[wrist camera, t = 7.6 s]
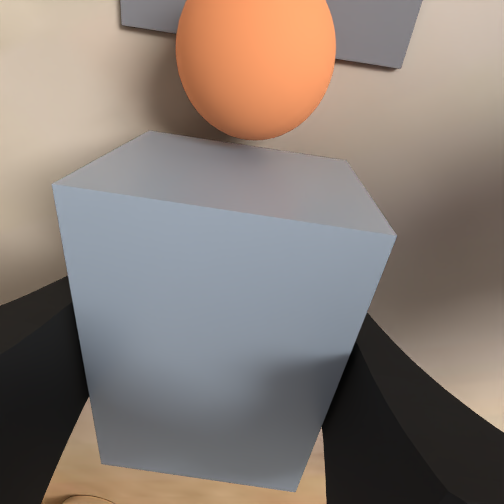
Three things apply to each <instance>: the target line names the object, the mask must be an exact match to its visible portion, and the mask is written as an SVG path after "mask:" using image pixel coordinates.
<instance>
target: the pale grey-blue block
mask: <svg viewBox="0 0 504 504" xmlns="http://www.w3.org/2000/svg"><path fill="white" fill-rule="evenodd" d="M52 188H53V194H54V200H55V205H56V211H57V216H58V222H59V228H60V233H61V239H62V245H63V250H64V256H65V261H66V267H67V273H68V278H69V284H70V290H71V295H72V301H73V307H74V312H75V318H76V323H77V329H78V335H79V340H80V346H81V352H82V357H83V363H84V369H85V374H86V380H87V385H88V391H89V397H90V402H91V408H92V414H93V419H94V425H95V430H96V436H97V442H98V447H99V453H100V459H101V464H105V465H111V466H118V467H125V468H132V469H139V470H146V471H153V472H160V473H166V474H173V475H180V476H187V477H194V478H201V479H208V480H215V481H222V482H228V483H235V484H242V485H249V486H256V487H263V488H270V489H277V490H283V491H290V492H296V490H297V487H298V484H299V482H300V479H301V477H302V474H303V472H304V469H305V467H306V464H307V462H308V459H309V457H310V454H311V452H312V449H313V447H314V444H315V442H316V439H317V437H318V434H319V432H320V429H321V427H322V424H323V422H324V419H325V416H326V414H327V411H328V409H329V406H330V404H331V401H332V399H333V396H334V394H335V391H336V389H337V386H338V384H339V381H340V379H341V376H342V374H343V371H344V369H345V366H346V364H347V361H348V359H349V356H350V353H351V351H352V348H353V346H354V343H355V341H356V338H357V336H358V333H359V331H360V328H361V326H362V323H363V321H364V318H365V316H366V313H367V311H368V308H369V306H370V303H371V301H372V298H373V296H374V293H375V290H376V288H377V285H378V283H379V280H380V278H381V275H382V273H383V270H384V268H385V265H386V263H387V260H388V258H389V255H390V253H391V250H392V248H393V245H394V243H395V240H396V238H397V235H396V233H395V232H394V230H393V229H392V227H391V226H390V224H389V223H388V221H387V220H386V218H385V217H384V215H383V214H382V212H381V211H380V209H379V208H378V206H377V205H376V203H375V202H374V200H373V199H372V198H371V196H370V195H369V193H368V192H367V190H366V189H365V187H364V186H363V184H362V183H361V181H360V180H359V178H358V177H357V175H356V174H355V172H354V171H353V169H352V168H351V166H350V165H349V163H348V162H347V160H341V159H334V158H327V157H321V156H314V155H308V154H301V153H294V152H288V151H281V150H275V149H268V148H261V147H255V146H248V145H242V144H235V143H228V142H222V141H215V140H209V139H202V138H195V137H189V136H182V135H176V134H169V133H162V132H156V131H147V132H146V133H144V134H142V135H140V136H138V137H136V138H135V139H133V140H131V141H129V142H127V143H125V144H124V145H122V146H120V147H118V148H116V149H114V150H113V151H111V152H109V153H107V154H105V155H104V156H102V157H100V158H98V159H96V160H94V161H93V162H91V163H89V164H87V165H85V166H83V167H82V168H80V169H78V170H76V171H74V172H72V173H71V174H69V175H67V176H65V177H63V178H62V179H60V180H58V181H56V182H54V183H52Z"/></svg>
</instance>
